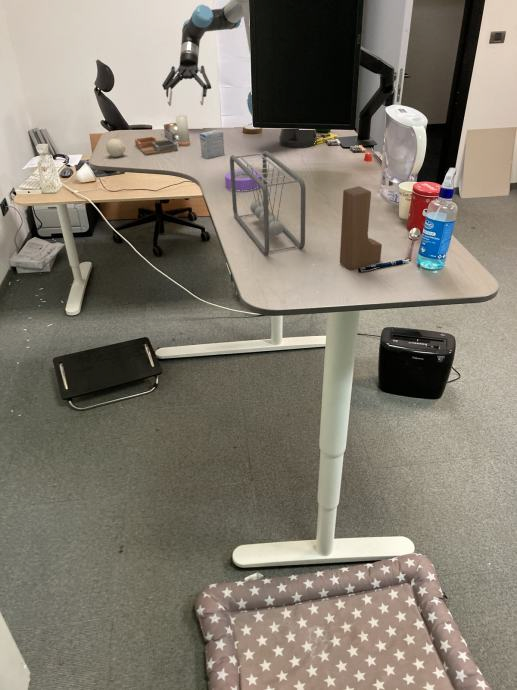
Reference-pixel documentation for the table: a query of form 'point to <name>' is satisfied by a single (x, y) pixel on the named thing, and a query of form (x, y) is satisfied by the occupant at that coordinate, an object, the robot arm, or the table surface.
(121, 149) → the baseball
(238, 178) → the masking tape
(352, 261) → the wooden block
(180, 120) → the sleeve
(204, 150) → the medicine box
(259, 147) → the table surface
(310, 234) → the table surface
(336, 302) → the table surface
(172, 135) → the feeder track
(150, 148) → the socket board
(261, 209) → the newton's cradle
